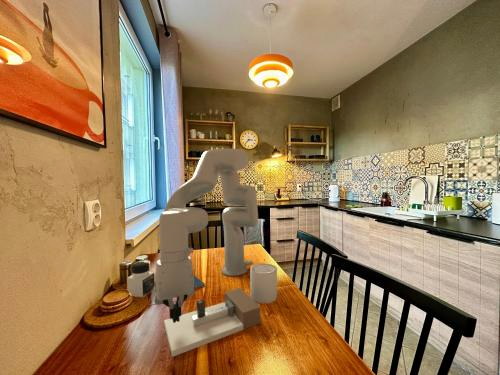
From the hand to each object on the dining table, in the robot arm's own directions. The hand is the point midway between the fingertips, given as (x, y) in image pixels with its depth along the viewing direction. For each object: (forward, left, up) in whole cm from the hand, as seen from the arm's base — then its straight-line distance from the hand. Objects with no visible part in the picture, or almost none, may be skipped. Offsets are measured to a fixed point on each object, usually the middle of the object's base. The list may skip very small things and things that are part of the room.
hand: (175, 319), depth 61 cm
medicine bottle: (+7, -33, -5) cm, 34 cm away
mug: (-34, -7, -5) cm, 35 cm away
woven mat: (-11, -29, -6) cm, 31 cm away
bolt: (-11, 0, -3) cm, 11 cm away
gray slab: (-11, 0, -5) cm, 12 cm away
